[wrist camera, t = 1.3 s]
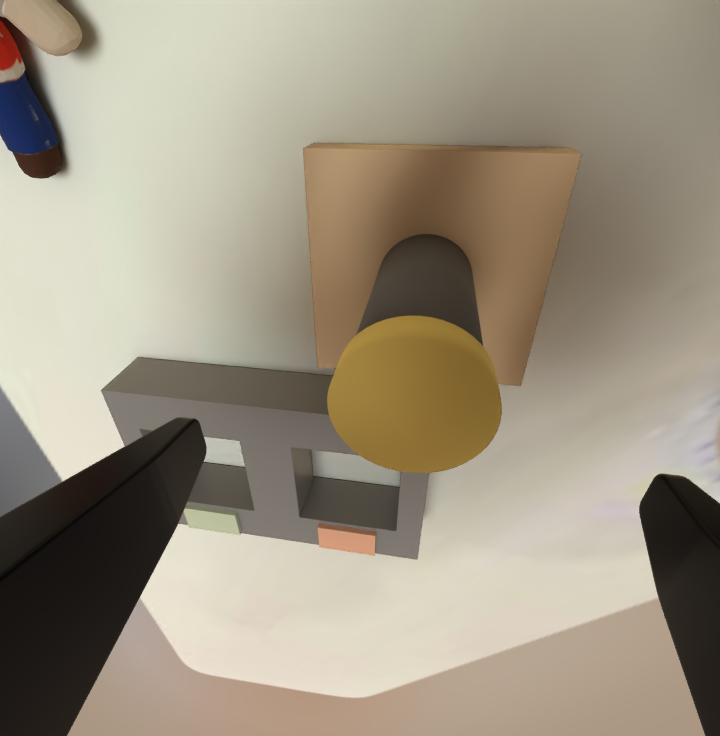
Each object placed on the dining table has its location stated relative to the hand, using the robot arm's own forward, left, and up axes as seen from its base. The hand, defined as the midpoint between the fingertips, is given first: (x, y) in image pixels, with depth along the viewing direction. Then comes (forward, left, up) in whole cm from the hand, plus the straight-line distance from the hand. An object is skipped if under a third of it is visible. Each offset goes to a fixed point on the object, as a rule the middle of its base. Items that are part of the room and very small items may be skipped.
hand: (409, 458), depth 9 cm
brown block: (0, 0, -11) cm, 11 cm away
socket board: (+7, +11, -11) cm, 17 cm away
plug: (0, 0, -10) cm, 10 cm away
